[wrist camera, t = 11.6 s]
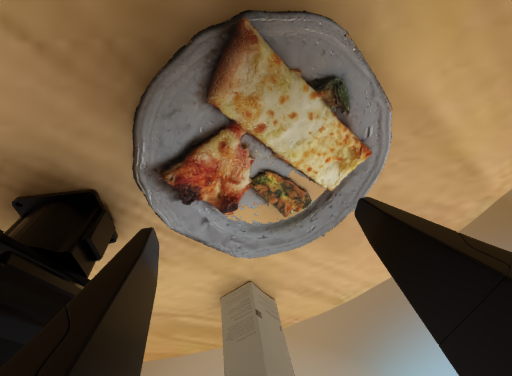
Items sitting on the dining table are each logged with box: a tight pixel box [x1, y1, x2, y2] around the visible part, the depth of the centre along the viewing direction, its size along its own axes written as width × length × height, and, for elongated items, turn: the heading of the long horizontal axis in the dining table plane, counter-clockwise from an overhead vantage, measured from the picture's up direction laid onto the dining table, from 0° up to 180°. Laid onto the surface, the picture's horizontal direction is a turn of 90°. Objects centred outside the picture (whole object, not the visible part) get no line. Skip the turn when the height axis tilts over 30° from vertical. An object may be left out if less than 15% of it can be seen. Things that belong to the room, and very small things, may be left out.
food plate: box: [132, 10, 392, 259], centre depth 22 cm, size 25×23×4 cm
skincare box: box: [221, 282, 295, 376], centre depth 30 cm, size 8×6×15 cm
